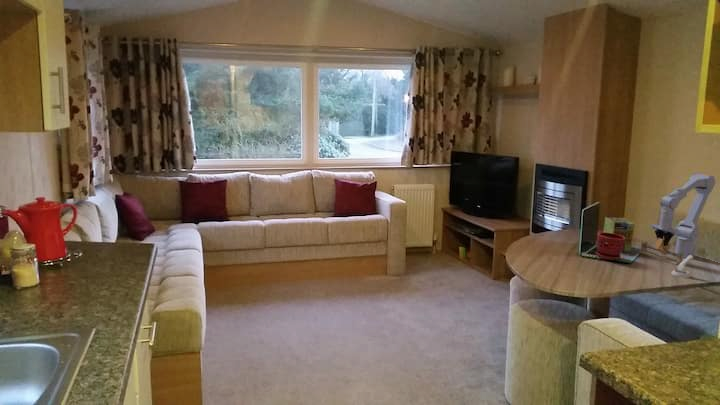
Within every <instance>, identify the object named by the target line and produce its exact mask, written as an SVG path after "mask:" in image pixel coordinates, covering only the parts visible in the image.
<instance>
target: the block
mask: <svg viewBox="0 0 720 405" xmlns="http://www.w3.org/2000/svg"><path fill="white" fill-rule="evenodd" d="M663 243H664V238H663V239H661V238H658V240H656V242H655V244H654V245H653V246H654V249H657V250H660V248H661V249H664V250H667V251H670V248H671V247H672V244H671V243H670V242H669V243H668V245H667V246H663ZM657 250H656V251H657ZM659 252H660V251H659ZM660 254H661V255H664V256H666V255H667V254H666V253H663V252H660Z"/></svg>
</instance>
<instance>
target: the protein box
mask: <svg viewBox="0 0 720 405" xmlns="http://www.w3.org/2000/svg"><path fill="white" fill-rule="evenodd" d="M634 230H635V223H633V222H632V221H630V220H629V219H628V218H624V217H613V216H611V217H610V216H605V217H604V226H603V232H606V233H613V234H618V235H621V236H624V237H625V238H626V240H625V245H624V248H623V250H622V252H627V251H630V252H631V249H632V243H633V235H634V232H635V231H634ZM606 244H607V243H606ZM617 247H618V245H617Z"/></svg>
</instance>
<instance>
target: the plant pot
mask: <svg viewBox="0 0 720 405" xmlns="http://www.w3.org/2000/svg"><path fill="white" fill-rule="evenodd" d="M625 240H626V238H625V237H624V236H621V235H618V234H613V233H606V232H602V231H601V232H598V233H597V236H596V248H597V250H596V251H595V254H596V256H598V257H599V258H601V259H603V260H609V261H613V260H615V261H617V260H620V258H621V254H622V253H623V251H622V250H623V248H624V245H625ZM606 243H607V244H606ZM617 245H618V247H617Z"/></svg>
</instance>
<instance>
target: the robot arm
mask: <svg viewBox="0 0 720 405" xmlns="http://www.w3.org/2000/svg"><path fill="white" fill-rule="evenodd" d="M715 184H716V179H715V176H714V175H709V174H702V173H696V172H695V173H692V175H690V176H689V181H688V182H686V183H685V184H684V185H683V186H682V187H678V188H675V190H673V191H672V192H671V193H669V194H668V195H665V196H663V197H661V199H660V201H659V204H660V210H661V213H660V218H659V224H651V226H650V229H654V233H655V235H656V239H657V240H658V238H661V239H664V243H663V246H667V245H668V243H669V244H670V241H671V239H672V238H673V237H674V236H676V237H675V238H676V245H675V251H673V252H674V253H683V258H684V259H686V258H687V257H688V256H689V255H692V256H693V258H694V257H697V255H696V249H697V241H696V240H697V239H698V238H699V232H700V230H701V229H700V227H699V225H698V224H697V223H698V220H699V218H700V217H701V214H702V211H703V209H704V207H705V205H706V203H707V200H708V198H709V195H710V194H711V193H712V191H713V189H714V186H715ZM692 190H695V191H696V195H695V198H694V199H693V202H692V204H691V206H690V209H689V210H688V213H687V214H686V217H685V219H684V220H682V221H679V223H678V225H677V226H675V228H673V222H674V217H675V216H674V215H675V210H676V209H677V208H678V206H679V204H680V202H682V201H683V200H684V199H685V198H686V197H687V196H688V193H689V192H691V191H692ZM657 240H656V241H657Z"/></svg>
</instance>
